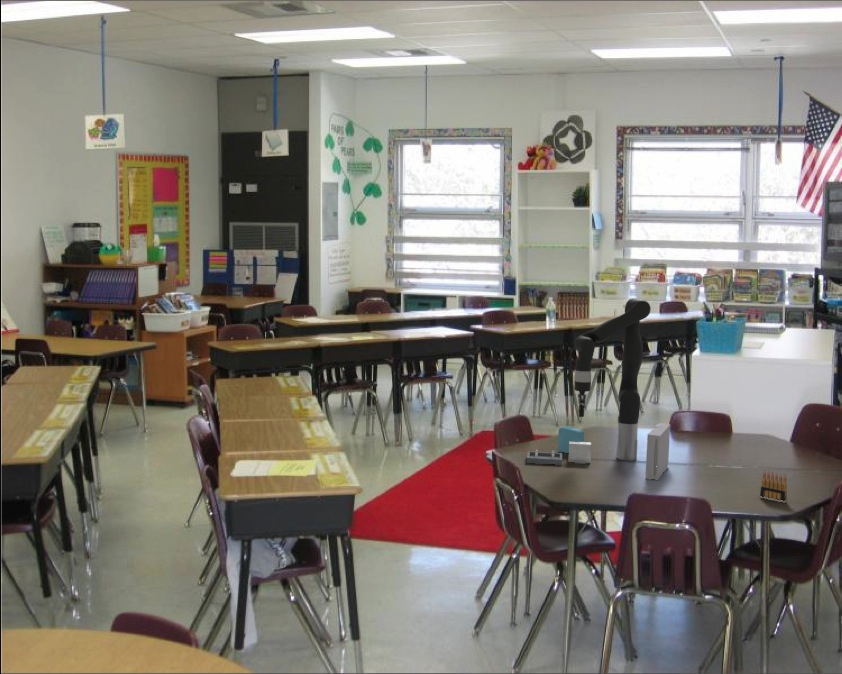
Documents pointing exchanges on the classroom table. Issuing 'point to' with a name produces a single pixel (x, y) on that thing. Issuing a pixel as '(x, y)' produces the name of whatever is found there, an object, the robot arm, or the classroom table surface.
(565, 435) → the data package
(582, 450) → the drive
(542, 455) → the tray
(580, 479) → the classroom table surface
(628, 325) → the robot arm
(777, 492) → the ammunition clip
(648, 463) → the game console
